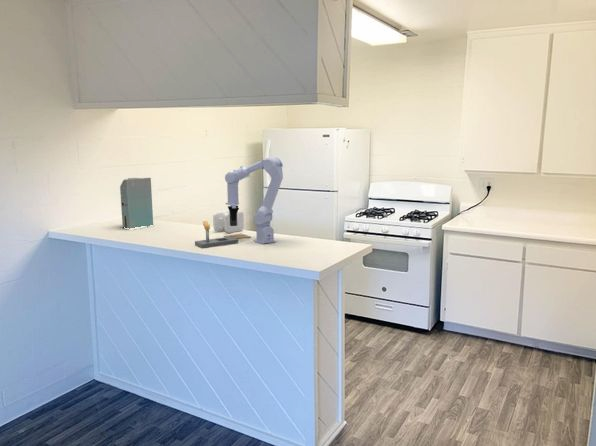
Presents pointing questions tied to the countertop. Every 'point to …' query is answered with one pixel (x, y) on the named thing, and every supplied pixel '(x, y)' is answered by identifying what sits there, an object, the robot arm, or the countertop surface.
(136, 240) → the countertop surface
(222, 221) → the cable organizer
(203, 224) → the clip
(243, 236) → the cork mat
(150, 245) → the countertop surface
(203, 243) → the grey base with posts
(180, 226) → the countertop surface
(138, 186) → the device
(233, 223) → the plug
